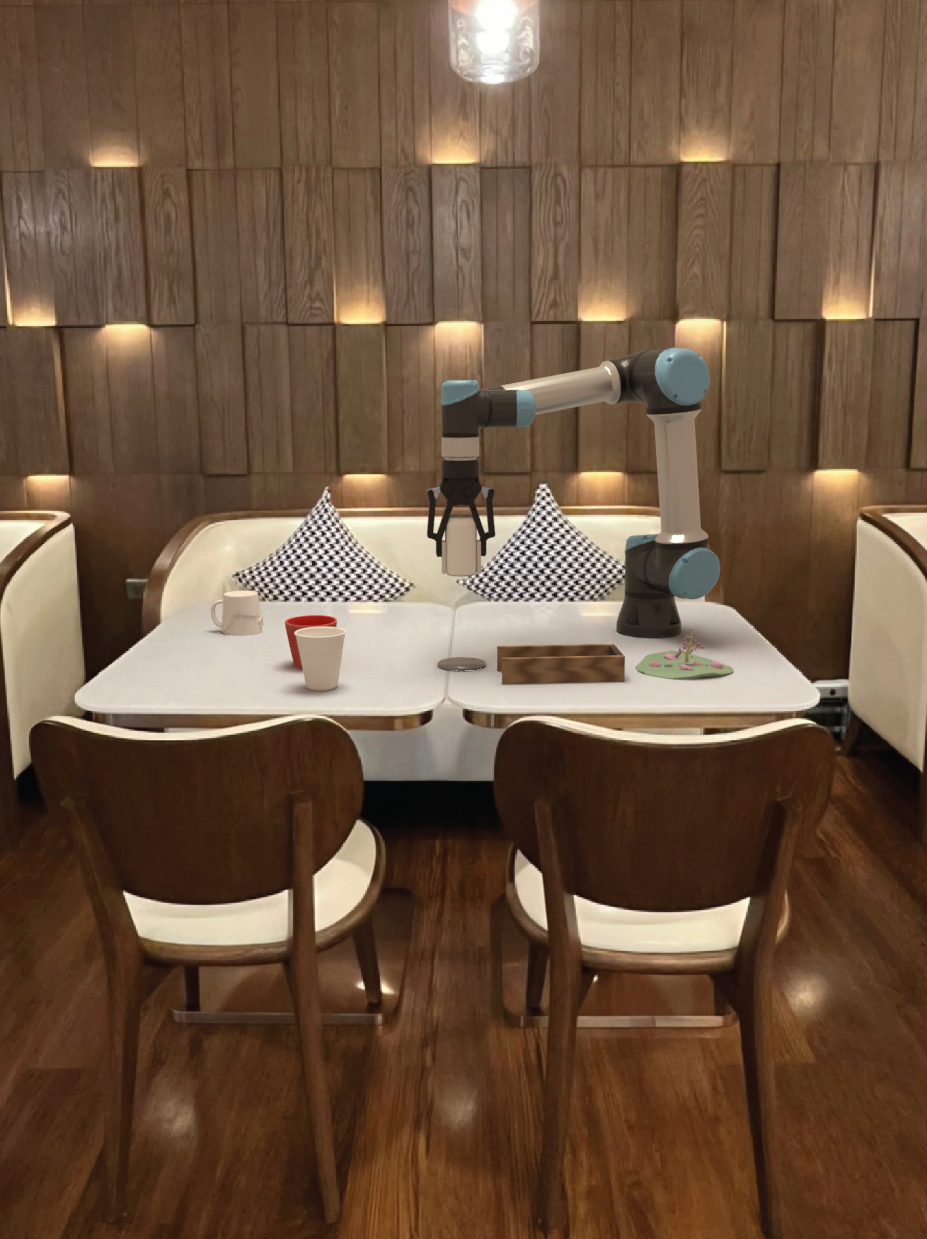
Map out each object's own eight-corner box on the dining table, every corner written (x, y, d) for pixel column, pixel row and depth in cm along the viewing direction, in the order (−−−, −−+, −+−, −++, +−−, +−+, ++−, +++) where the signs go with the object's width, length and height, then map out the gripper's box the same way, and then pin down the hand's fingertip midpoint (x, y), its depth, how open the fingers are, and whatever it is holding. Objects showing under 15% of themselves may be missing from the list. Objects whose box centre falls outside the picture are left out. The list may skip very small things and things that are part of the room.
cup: (297, 681, 227) (295, 626, 225) (348, 680, 228) (346, 625, 225) (294, 694, 217) (292, 637, 215) (347, 693, 218) (345, 636, 216)
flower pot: (297, 674, 233) (295, 627, 231) (279, 662, 242) (277, 617, 240) (345, 668, 237) (344, 622, 236) (326, 657, 247) (325, 612, 245)
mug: (264, 590, 275) (256, 596, 267) (266, 628, 276) (258, 635, 269) (215, 590, 275) (205, 596, 267) (217, 628, 277) (207, 635, 269)
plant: (613, 656, 249) (614, 615, 247) (704, 652, 252) (705, 611, 251) (653, 685, 225) (654, 640, 223) (752, 679, 228) (754, 635, 226)
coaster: (483, 659, 244) (483, 656, 244) (487, 670, 234) (487, 668, 234) (436, 660, 243) (436, 657, 243) (438, 671, 234) (438, 669, 233)
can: (470, 577, 231) (470, 518, 229) (440, 575, 233) (439, 516, 231) (481, 572, 237) (481, 514, 235) (452, 571, 239) (451, 513, 237)
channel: (613, 667, 236) (613, 643, 235) (624, 681, 225) (624, 656, 224) (497, 669, 235) (497, 646, 234) (502, 684, 224) (502, 659, 223)
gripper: (506, 457, 234) (506, 568, 239) (411, 458, 233) (413, 570, 238) (510, 459, 227) (510, 574, 232) (412, 460, 226) (414, 576, 231)
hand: (461, 572), depth 235 cm, fingers closed on can, 6 cm apart
